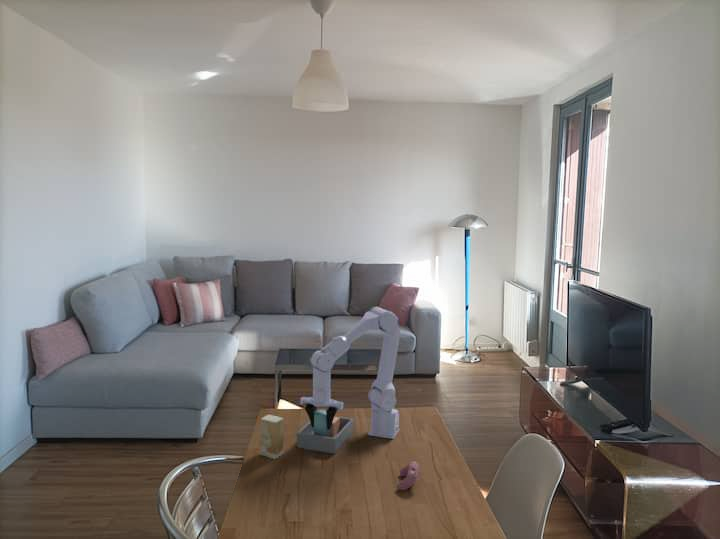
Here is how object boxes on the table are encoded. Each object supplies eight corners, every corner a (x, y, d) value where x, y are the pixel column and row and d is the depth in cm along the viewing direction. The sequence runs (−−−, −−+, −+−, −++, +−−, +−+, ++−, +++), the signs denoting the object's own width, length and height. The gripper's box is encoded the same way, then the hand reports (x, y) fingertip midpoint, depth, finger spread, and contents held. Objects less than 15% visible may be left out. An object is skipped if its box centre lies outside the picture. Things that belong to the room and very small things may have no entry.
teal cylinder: (328, 429, 186) (329, 409, 185) (329, 436, 181) (329, 415, 180) (313, 430, 185) (314, 410, 184) (313, 436, 180) (313, 415, 179)
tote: (353, 432, 193) (353, 418, 193) (335, 454, 177) (335, 439, 176) (317, 427, 198) (317, 413, 197) (296, 447, 181) (296, 433, 181)
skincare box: (259, 455, 176) (259, 418, 174) (268, 449, 179) (267, 413, 178) (276, 459, 173) (276, 422, 171) (284, 454, 176) (284, 417, 175)
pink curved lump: (409, 497, 155) (421, 477, 153) (395, 489, 155) (406, 469, 154) (412, 480, 164) (423, 461, 163) (398, 472, 165) (409, 453, 163)
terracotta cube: (339, 431, 192) (339, 417, 192) (333, 437, 187) (333, 423, 187) (326, 429, 194) (326, 415, 193) (320, 435, 189) (320, 421, 189)
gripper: (296, 388, 180) (296, 428, 181) (338, 394, 175) (337, 435, 177) (305, 382, 186) (305, 420, 188) (345, 387, 182) (345, 426, 183)
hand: (321, 427), depth 183 cm, fingers closed on teal cylinder, 5 cm apart
